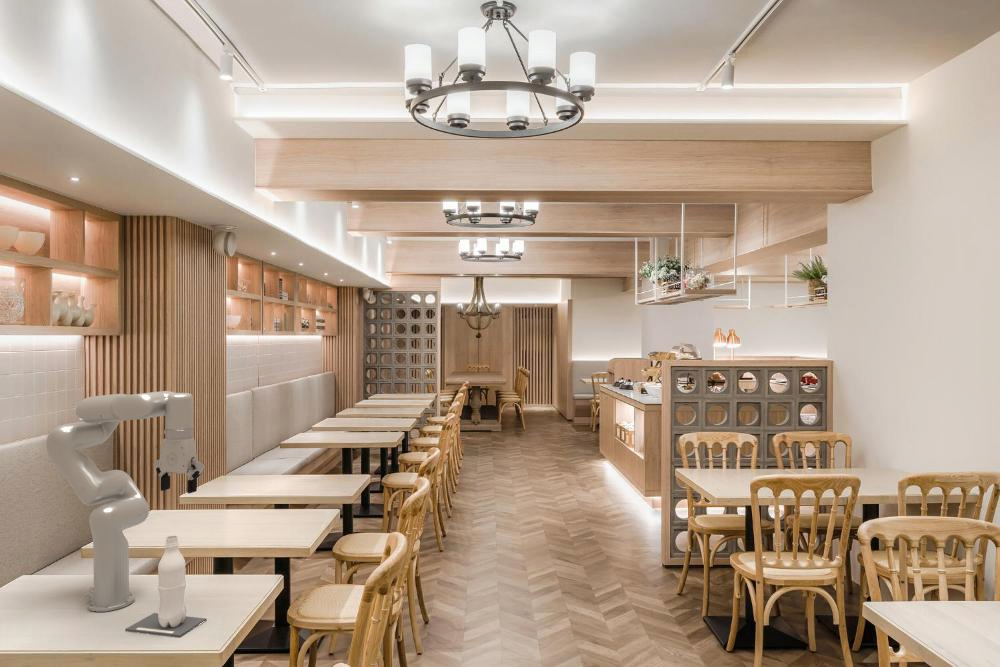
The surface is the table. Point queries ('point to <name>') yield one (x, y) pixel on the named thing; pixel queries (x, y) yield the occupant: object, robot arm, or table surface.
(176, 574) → the water bottle
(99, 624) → the table surface
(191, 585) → the table surface
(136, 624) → the board
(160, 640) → the table surface
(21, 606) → the table surface
